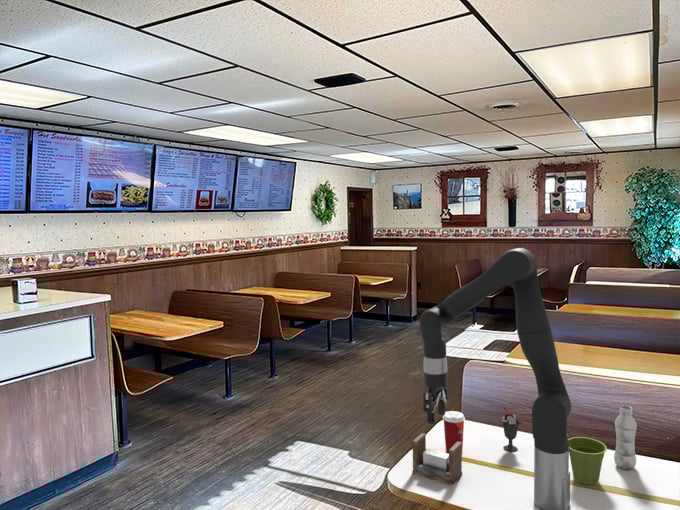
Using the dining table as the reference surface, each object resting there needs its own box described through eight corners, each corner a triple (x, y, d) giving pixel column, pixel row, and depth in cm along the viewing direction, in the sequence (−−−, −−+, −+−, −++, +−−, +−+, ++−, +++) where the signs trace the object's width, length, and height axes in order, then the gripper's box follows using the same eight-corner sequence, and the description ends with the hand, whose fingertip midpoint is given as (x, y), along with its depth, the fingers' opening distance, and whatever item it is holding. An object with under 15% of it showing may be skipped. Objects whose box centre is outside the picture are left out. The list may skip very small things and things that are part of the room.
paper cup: (465, 458, 180) (465, 419, 179) (442, 457, 181) (442, 418, 180) (464, 448, 187) (464, 410, 186) (443, 447, 189) (442, 409, 188)
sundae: (496, 447, 188) (496, 406, 186) (510, 443, 190) (510, 403, 189) (509, 454, 182) (509, 413, 180) (524, 450, 185) (524, 409, 183)
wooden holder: (462, 474, 169) (462, 441, 168) (452, 485, 163) (452, 451, 162) (422, 463, 177) (422, 432, 176) (412, 473, 170) (411, 441, 170)
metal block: (450, 472, 169) (450, 454, 168) (446, 476, 166) (446, 458, 165) (428, 465, 173) (427, 448, 173) (423, 470, 170) (423, 452, 170)
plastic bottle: (613, 469, 170) (614, 410, 168) (613, 460, 176) (614, 402, 174) (636, 473, 167) (637, 413, 165) (635, 464, 173) (637, 405, 171)
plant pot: (574, 466, 172) (575, 433, 172) (612, 479, 164) (613, 444, 163) (558, 479, 165) (558, 445, 164) (597, 493, 156) (597, 457, 155)
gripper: (437, 377, 159) (438, 429, 160) (454, 365, 171) (455, 413, 172) (415, 374, 163) (416, 424, 164) (433, 362, 175) (434, 409, 176)
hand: (436, 418), depth 168 cm, fingers open, 8 cm apart
